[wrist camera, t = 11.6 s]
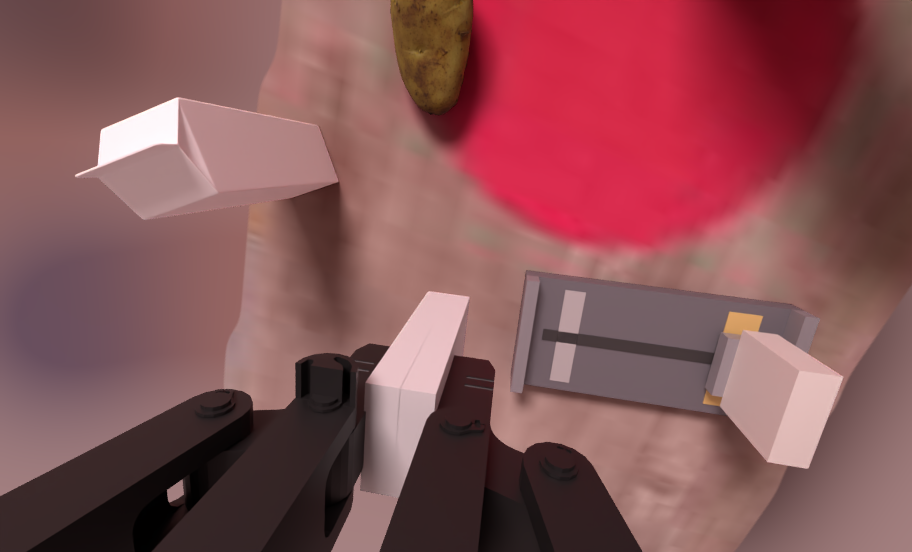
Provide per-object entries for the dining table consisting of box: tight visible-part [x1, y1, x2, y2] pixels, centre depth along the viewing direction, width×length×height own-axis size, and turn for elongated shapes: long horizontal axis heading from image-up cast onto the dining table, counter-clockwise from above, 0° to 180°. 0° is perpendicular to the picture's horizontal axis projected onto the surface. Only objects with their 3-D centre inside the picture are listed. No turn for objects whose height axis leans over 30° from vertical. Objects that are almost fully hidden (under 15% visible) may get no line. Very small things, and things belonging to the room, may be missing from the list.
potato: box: [390, 0, 473, 115], centre depth 36 cm, size 8×13×8 cm, turn 159°
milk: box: [75, 98, 339, 220], centre depth 34 cm, size 6×6×22 cm
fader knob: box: [705, 330, 843, 469], centre depth 36 cm, size 5×8×10 cm, turn 174°
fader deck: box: [510, 270, 820, 416], centre depth 42 cm, size 26×12×4 cm, turn 84°
